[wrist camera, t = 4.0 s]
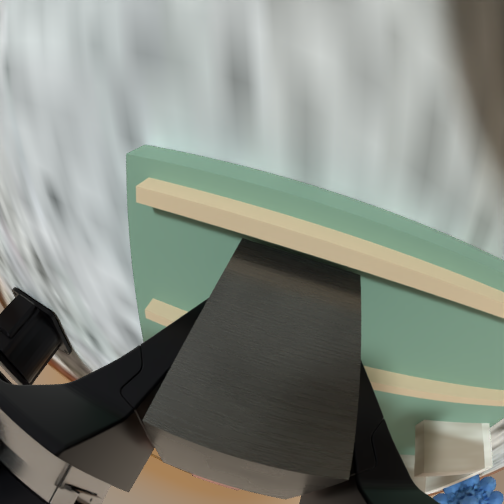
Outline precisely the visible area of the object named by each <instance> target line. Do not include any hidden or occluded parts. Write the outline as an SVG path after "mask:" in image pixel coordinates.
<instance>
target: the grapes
mask: <svg viewBox="0 0 504 504" xmlns="http://www.w3.org/2000/svg"><path fill="white" fill-rule="evenodd" d="M495 487H496V480H494V478H492V477H484V478H483V479H481V480H480V478H479V475H478V474H477V475H475V476H473V477H470V478H468V479H466V480H464V481H461V482H459V483H456V484H454V485H451V486H449V487H446V488H443V491H444V493H445V494H444V493H439V494H437V495H436V496H434V497H433V499H434V500H436V501H437V502H438V503H440V504H502V502H503V494H502V493H501V492H499V491H493V490H494V489H495Z"/></svg>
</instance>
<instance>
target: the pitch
mask: <svg viewBox="0 0 504 504" xmlns="http://www.w3.org/2000/svg"><path fill="white" fill-rule="evenodd" d="M126 174H127V205H128V222H129V236H130V248H131V258H132V268H133V276H134V284H135V292H136V299H137V306H138V312H139V319H140V325H141V330H142V336H143V341H144V342H145V341H146V340H148V339H149V338H151V337H152V336H154V335H155V334H157V333H158V332H160V331H161V330H163V329H164V328H165V327H167V326H168V325H170V324H171V323H173V322H174V321H176V320H177V319H179V318H180V317H181V316H183V315H184V314H186V313H187V312H189V311H190V310H192V309H193V308H194V307H196V306H197V305H199V304H200V303H202V302H203V301H205V300H206V299H207V298H209V297H210V295H211V293H212V291H213V289H214V288H215V286H216V284H217V282H218V280H219V279H220V277H221V275H222V273H223V271H224V270H225V268H226V266H227V264H228V263H229V261H230V259H231V257H232V255H233V254H234V252H235V250H236V248H237V247H238V245H239V243H240V241H241V240H242V238H244V239H247V240H250V241H253V242H257V243H260V244H263V245H266V246H270V247H273V248H276V249H279V250H283V251H286V252H289V253H292V254H296V255H299V256H302V257H305V258H308V259H312V260H315V261H318V262H321V263H324V264H328V265H331V266H334V267H337V268H340V269H343V270H347V271H350V272H353V273H356V274H359V275H360V277H361V361H362V363H363V365H364V368H365V370H366V373H367V375H368V378H369V380H370V383H371V385H372V388H373V390H374V393H375V395H376V398H377V400H378V403H379V405H380V408H381V411H382V413H383V416H384V418H383V419H385V421H386V424H387V426H388V429H389V431H390V434H391V436H392V439H393V441H394V443H395V445H396V448H397V450H398V452H399V454H401V455H415V426H416V425H417V424H419V423H420V422H421V421H423V420H433V421H445V422H461V423H489V426H490V427H492V426H493V425H494V424H496V423H497V422H499V421H500V420H502V419H503V418H504V261H503V260H501V259H499V258H497V257H495V256H493V255H491V254H489V253H487V252H484V251H482V250H480V249H478V248H476V247H474V246H472V245H469V244H467V243H465V242H463V241H460V240H458V239H456V238H454V237H451V236H449V235H447V234H444V233H442V232H440V231H437V230H435V229H432V228H430V227H428V226H425V225H423V224H420V223H418V222H415V221H413V220H410V219H407V218H405V217H402V216H400V215H397V214H394V213H392V212H389V211H386V210H384V209H381V208H378V207H375V206H372V205H370V204H367V203H364V202H361V201H358V200H355V199H352V198H349V197H346V196H343V195H340V194H337V193H334V192H331V191H328V190H325V189H322V188H319V187H315V186H312V185H309V184H306V183H302V182H299V181H296V180H292V179H289V178H285V177H282V176H278V175H275V174H271V173H267V172H264V171H260V170H256V169H252V168H249V167H245V166H241V165H237V164H233V163H229V162H225V161H220V160H216V159H212V158H208V157H203V156H199V155H194V154H189V153H185V152H180V151H175V150H170V149H165V148H160V147H155V146H149V145H144V146H141V147H139V148H137V149H135V150H133V151H131V152H129V153H127V154H126Z"/></svg>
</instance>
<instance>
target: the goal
mask: <svg viewBox="0 0 504 504" xmlns="http://www.w3.org/2000/svg"><path fill="white" fill-rule="evenodd" d="M400 456H401V458H402V460H403V462H404V464H405V466H406V468H407V470H408V473H409V475H410V477H411V479H412V480H413V482H414V483H415V485H416V486H417V487H418V488H419V489H420V490H421V491H423V492H424V493H426V494H429V493H432V492H435V491H438V490H441V489H443V488H446V487H449V486H451V485H454V484H456V483H459V482H461V481H464V480H466V479H468V478H470V477H473V476H475V475H477V474H479V473H481V472H483V471H485V470H487V469H489V468H491V467H493V461H492V446H491V435H490V426H489V423H461V422H445V421H433V420H423V421H421V422H420V423H419V424H417V425H416V426H415V455H401V454H400Z"/></svg>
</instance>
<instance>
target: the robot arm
mask: <svg viewBox="0 0 504 504" xmlns="http://www.w3.org/2000/svg"><path fill="white" fill-rule="evenodd" d="M12 292H13V294H14V296H15V299H14V300H13V301H12V302H11V303H10V304H9V305H8V306H7V307H6V308H5V309H4V310H3V311H2V313H1V314H0V366H1V367H2V368H3V369H4V370H5V371H6V372H7V373H8V374H9V375H10V377H11V378H12V379H13V380H14V381H15V382H16V383H17V384H18V385H13V384H12V383H11V382H10V381H9V380H8V379H7V378H6V377H5V376H4V375H3V374H2V373H1V371H0V504H102V502H103V500H104V498H105V496H106V494H107V492H108V490H109V488H110V486H111V485H112V486H114V487H117V488H119V489H122V490H124V491H127V492H129V491H130V489H131V488H132V486H133V484H134V483H135V481H136V479H137V477H138V475H139V474H140V472H141V470H142V469H143V467H144V465H145V464H146V462H147V460H148V458H149V457H150V455H151V453H152V451H153V450H154V448H155V446H154V444H153V442H152V440H151V438H150V436H149V434H148V432H147V430H146V428H145V426H144V424H143V421H142V420H143V418H144V416H145V414H146V412H147V411H148V409H149V407H150V405H151V403H152V401H153V399H154V397H155V396H156V394H157V392H158V390H159V388H160V386H161V384H162V383H163V381H164V379H165V377H166V375H167V373H168V371H169V370H170V368H171V366H172V364H173V362H174V360H175V358H176V357H177V355H178V353H179V351H180V349H181V347H182V346H183V344H184V342H185V340H186V338H187V336H188V335H189V333H190V331H191V329H192V327H193V325H194V324H195V322H196V320H197V318H198V316H199V315H200V313H201V311H202V309H203V307H204V306H205V304H206V302H207V300H208V298H207V299H206V300H205V301H203V302H202V303H200V304H199V305H197V306H196V307H194V308H193V309H192V310H190V311H189V312H187V313H186V314H184V315H183V316H181V317H180V318H179V319H177V320H176V321H174V322H173V323H171V324H170V325H168V326H167V327H165V328H164V329H163V330H161V331H160V332H158V333H157V334H155V335H154V336H152V337H151V338H149V339H148V340H146V341H145V342H143V343H142V344H141V346H137V347H136V348H134V349H133V350H132V351H130V352H128V353H127V354H125V355H124V356H122V357H121V358H119V359H117V360H115V361H113V362H112V363H110V364H108V365H106V366H104V367H102V368H100V369H98V370H96V371H94V372H92V373H90V374H88V375H86V376H84V377H82V378H80V379H78V380H75V381H73V382H70V383H65V384H55V385H32V384H33V382H34V381H35V379H36V378H37V377H38V375H39V374H40V373H41V371H42V370H43V369H44V367H45V366H46V365H47V363H48V362H49V361H50V359H51V358H52V357H53V355H54V354H55V353H56V351H57V350H58V349H60V350H62V351H63V352H65V353H66V354H68V355H69V354H70V353H71V352H72V351H71V349H70V347H69V345H68V343H67V341H66V339H65V337H64V335H63V333H62V331H61V329H60V327H59V325H58V323H57V320H56V318H55V316H54V314H53V313H52V312H51V311H50V310H48V309H46V308H45V307H43V306H42V305H40V304H39V303H37V302H36V301H34V300H33V299H31V298H30V297H29V296H27V295H26V294H24V293H23V292H21V291H20V290H19V289H17V288H16V287H14V288H13V289H12ZM383 418H384V416H383V413H382V411H381V408H380V405H379V403H378V400H377V398H376V395H375V393H374V390H373V388H372V385H371V383H370V380H369V378H368V375H367V373H366V370H365V368H364V365H363V363H362V361H361V366H360V385H359V400H358V412H357V423H356V432H355V441H354V449H353V456H352V463H351V470H350V476H349V480H347V481H344V482H342V483H339V484H336V485H333V486H330V487H327V488H324V489H321V490H318V491H314V492H311V493H307V494H304V495H301V499H300V503H299V504H440V503H438V502H437V501H436V500H434V499H433V498H431V497H430V496H428V495H427V494H426V493H424V492H423V491H421V490H420V489H419V488H418V487H417V486H416V485H415V483H414V482H413V480H412V479H411V477H410V475H409V473H408V470H407V468H406V466H405V464H404V462H403V460H402V458H401V456H400V454H399V452H398V450H397V448H396V445H395V443H394V441H393V439H392V436H391V434H390V431H389V429H388V426H387V424H386V421H385V419H383Z"/></svg>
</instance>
